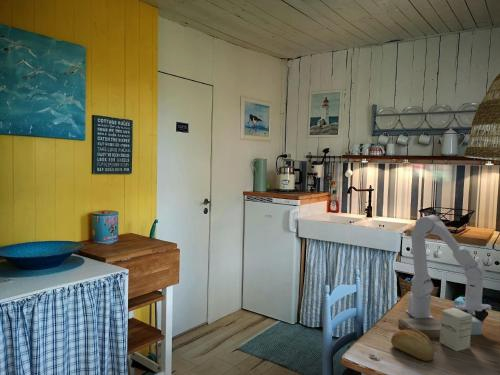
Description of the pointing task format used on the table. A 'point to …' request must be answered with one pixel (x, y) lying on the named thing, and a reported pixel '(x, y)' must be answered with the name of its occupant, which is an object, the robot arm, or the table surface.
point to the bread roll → (413, 343)
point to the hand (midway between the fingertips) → (471, 328)
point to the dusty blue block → (476, 326)
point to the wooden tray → (422, 326)
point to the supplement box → (455, 329)
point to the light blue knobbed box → (461, 302)
